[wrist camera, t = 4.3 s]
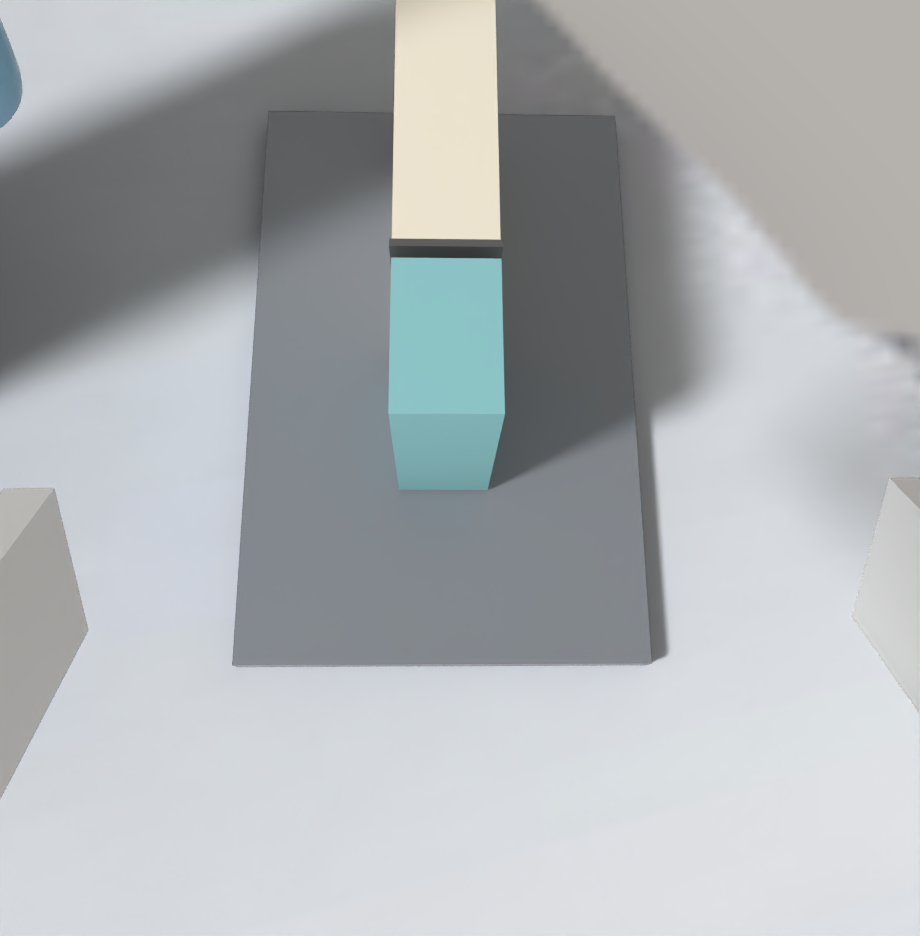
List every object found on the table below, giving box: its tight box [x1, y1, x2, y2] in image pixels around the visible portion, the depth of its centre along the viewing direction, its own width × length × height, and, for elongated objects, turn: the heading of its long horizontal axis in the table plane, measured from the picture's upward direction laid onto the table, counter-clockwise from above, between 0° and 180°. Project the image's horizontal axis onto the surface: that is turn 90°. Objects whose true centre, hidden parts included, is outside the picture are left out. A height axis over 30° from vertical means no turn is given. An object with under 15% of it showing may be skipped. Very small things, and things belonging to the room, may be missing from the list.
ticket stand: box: [232, 0, 652, 667], centre depth 37 cm, size 28×18×11 cm, turn 0°
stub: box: [388, 258, 505, 490], centre depth 36 cm, size 6×4×10 cm, turn 0°
